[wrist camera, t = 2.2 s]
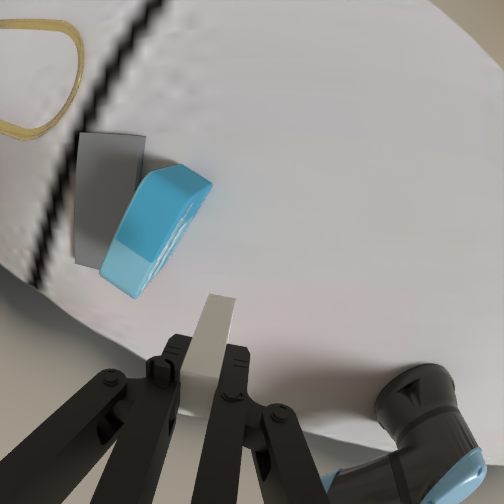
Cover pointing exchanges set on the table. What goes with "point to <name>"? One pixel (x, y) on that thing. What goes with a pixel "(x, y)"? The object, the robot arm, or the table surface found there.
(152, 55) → the table surface
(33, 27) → the tan oval ring
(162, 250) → the data package
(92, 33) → the table surface
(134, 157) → the rubber pad
